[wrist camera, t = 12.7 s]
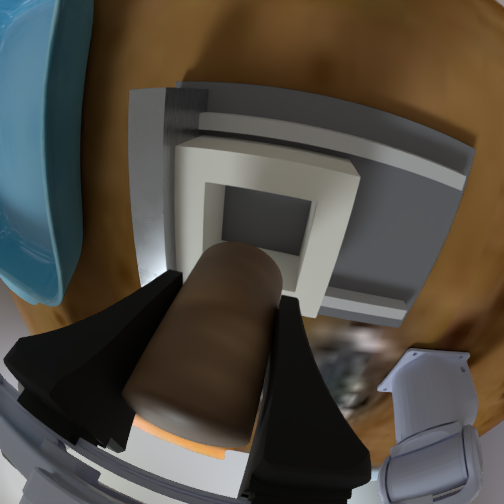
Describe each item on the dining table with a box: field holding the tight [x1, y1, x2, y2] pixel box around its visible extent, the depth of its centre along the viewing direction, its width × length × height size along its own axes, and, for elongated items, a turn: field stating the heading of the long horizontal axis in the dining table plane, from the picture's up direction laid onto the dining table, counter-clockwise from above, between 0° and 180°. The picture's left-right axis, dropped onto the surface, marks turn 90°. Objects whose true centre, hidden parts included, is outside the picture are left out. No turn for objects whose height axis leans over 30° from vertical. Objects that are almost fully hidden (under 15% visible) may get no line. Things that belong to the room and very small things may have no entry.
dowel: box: [122, 241, 283, 447], centre depth 10 cm, size 4×4×7 cm
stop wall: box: [128, 88, 209, 287], centre depth 16 cm, size 2×15×6 cm, turn 173°
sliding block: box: [174, 135, 361, 318], centre depth 16 cm, size 9×9×4 cm
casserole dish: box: [0, 0, 94, 306], centre depth 16 cm, size 37×22×7 cm, turn 167°
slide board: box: [176, 82, 476, 328], centre depth 17 cm, size 20×16×2 cm
